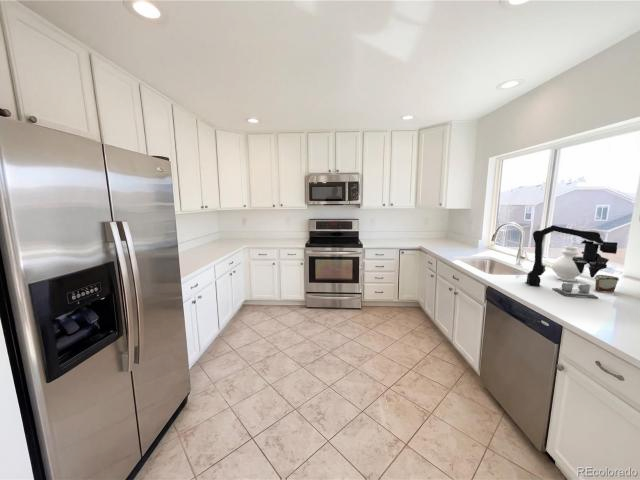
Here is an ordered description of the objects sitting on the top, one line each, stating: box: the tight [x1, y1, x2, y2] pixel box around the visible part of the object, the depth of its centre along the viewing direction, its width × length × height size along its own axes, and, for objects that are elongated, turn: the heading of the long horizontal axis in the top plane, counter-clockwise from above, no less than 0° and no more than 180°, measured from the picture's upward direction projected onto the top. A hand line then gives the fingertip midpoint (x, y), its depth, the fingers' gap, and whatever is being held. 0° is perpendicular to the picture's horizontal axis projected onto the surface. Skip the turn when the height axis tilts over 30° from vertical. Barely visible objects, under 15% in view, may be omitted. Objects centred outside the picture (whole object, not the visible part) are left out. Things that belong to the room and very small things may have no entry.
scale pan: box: [555, 287, 596, 296], centre depth 158 cm, size 15×9×1 cm, turn 75°
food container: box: [593, 274, 620, 293], centre depth 163 cm, size 12×6×10 cm, turn 84°
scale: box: [551, 287, 599, 300], centre depth 158 cm, size 17×12×1 cm
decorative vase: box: [551, 245, 586, 282], centre depth 185 cm, size 18×18×25 cm
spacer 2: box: [577, 282, 591, 293], centre depth 156 cm, size 5×5×5 cm
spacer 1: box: [560, 281, 574, 292], centre depth 158 cm, size 5×5×5 cm
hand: (586, 275), depth 155 cm, fingers open, 9 cm apart
